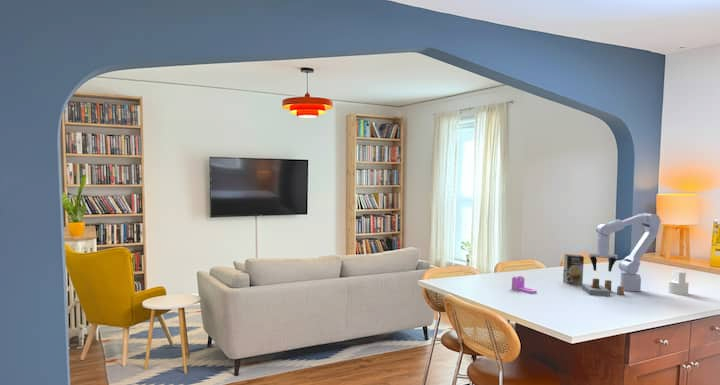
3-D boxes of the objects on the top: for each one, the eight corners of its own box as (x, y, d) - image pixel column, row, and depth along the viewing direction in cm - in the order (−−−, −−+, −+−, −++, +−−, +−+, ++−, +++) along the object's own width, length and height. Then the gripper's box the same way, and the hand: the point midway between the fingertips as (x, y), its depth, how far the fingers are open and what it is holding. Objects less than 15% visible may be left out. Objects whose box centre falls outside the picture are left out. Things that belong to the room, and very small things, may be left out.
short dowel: (622, 293, 258) (622, 286, 257) (624, 295, 254) (625, 287, 254) (616, 293, 258) (616, 285, 258) (618, 294, 255) (618, 287, 255)
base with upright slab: (691, 295, 257) (692, 273, 257) (672, 294, 259) (673, 272, 259) (683, 291, 266) (684, 270, 266) (665, 290, 268) (666, 269, 268)
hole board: (601, 289, 265) (601, 285, 265) (610, 295, 252) (610, 291, 251) (581, 288, 267) (582, 284, 267) (589, 294, 253) (589, 289, 253)
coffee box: (566, 283, 279) (567, 255, 279) (562, 281, 286) (563, 254, 285) (582, 284, 278) (584, 256, 278) (579, 282, 285) (580, 254, 284)
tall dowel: (597, 291, 261) (598, 278, 260) (599, 293, 258) (600, 279, 257) (591, 291, 261) (591, 278, 261) (593, 292, 258) (593, 279, 258)
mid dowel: (609, 290, 265) (610, 280, 265) (611, 291, 262) (612, 281, 262) (603, 289, 266) (604, 279, 266) (605, 291, 263) (606, 281, 262)
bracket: (511, 289, 262) (512, 276, 262) (518, 288, 265) (518, 275, 265) (532, 294, 251) (532, 280, 251) (538, 293, 254) (539, 279, 254)
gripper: (614, 246, 270) (613, 270, 271) (587, 244, 273) (586, 268, 273) (619, 247, 263) (618, 272, 264) (590, 246, 266) (589, 271, 266)
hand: (602, 270), depth 268 cm, fingers open, 7 cm apart
